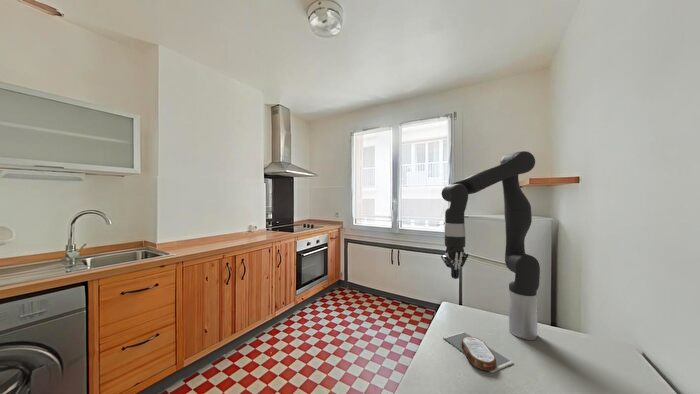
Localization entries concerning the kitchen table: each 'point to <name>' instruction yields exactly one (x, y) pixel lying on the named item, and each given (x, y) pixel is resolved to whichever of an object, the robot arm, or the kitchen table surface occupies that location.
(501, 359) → the mat
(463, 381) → the kitchen table surface
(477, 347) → the tin
